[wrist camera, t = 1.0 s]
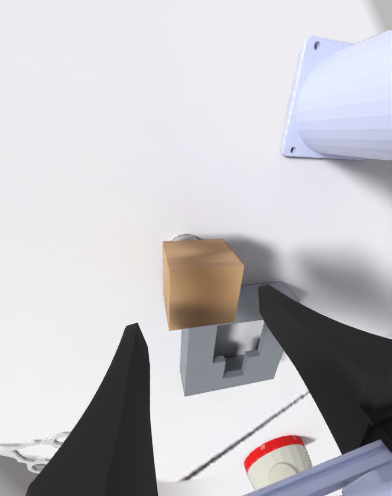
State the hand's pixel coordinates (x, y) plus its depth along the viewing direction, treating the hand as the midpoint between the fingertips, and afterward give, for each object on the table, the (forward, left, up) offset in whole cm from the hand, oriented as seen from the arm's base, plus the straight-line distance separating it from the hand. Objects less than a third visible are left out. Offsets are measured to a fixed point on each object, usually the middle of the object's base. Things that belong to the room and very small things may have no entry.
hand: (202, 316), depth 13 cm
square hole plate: (-7, +12, -10) cm, 17 cm away
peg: (-1, +1, -10) cm, 10 cm away
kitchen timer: (-23, +53, -10) cm, 58 cm away
